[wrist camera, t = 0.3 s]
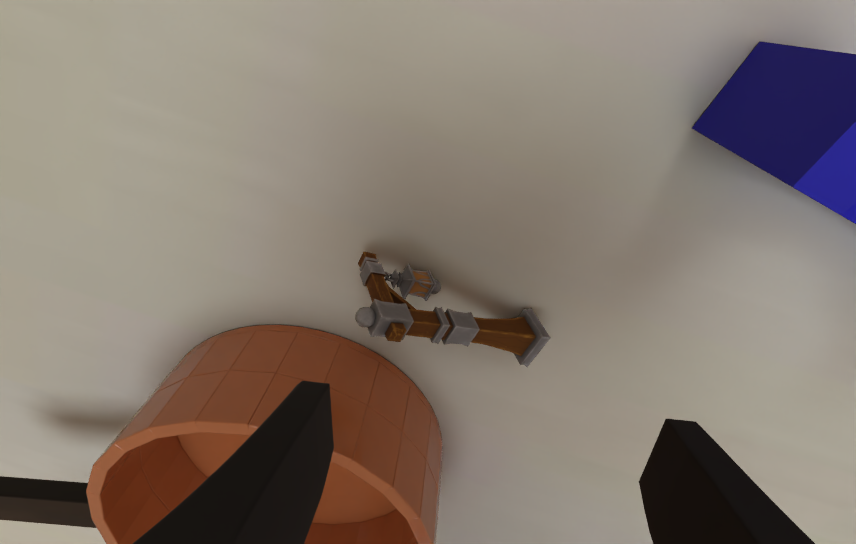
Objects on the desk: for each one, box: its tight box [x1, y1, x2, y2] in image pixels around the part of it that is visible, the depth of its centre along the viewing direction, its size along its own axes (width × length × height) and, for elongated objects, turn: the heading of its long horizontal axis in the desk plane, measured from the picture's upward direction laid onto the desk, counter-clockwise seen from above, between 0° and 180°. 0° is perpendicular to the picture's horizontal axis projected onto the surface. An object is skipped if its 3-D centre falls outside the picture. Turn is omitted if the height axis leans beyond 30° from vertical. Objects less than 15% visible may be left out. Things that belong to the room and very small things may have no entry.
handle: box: [0, 476, 97, 528], centre depth 23 cm, size 2×7×1 cm, turn 91°
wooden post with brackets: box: [355, 252, 550, 367], centre depth 19 cm, size 2×8×4 cm, turn 64°
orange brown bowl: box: [86, 325, 443, 544], centre depth 23 cm, size 15×15×6 cm
